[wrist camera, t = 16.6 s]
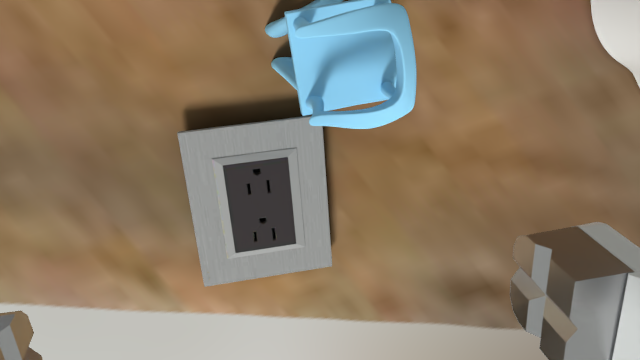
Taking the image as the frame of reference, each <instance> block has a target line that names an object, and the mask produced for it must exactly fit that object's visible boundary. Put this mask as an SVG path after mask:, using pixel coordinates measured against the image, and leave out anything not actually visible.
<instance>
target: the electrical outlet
mask: <svg viewBox="0 0 640 360" xmlns="http://www.w3.org/2000/svg"><path fill="white" fill-rule="evenodd" d="M310 118H311V116H303V117H295V118H287V119H279V120H271V121H263V122H254V123H246V124H238V125H230V126H222V127H213V128H205V129H197V130H189V131H181V132H178V133H177V134H178V139H179V145H180V151H181V156H182V162H183V168H184V173H185V179H186V185H187V190H188V196H189V202H190V207H191V213H192V219H193V224H194V230H195V236H196V241H197V247H198V253H199V258H200V264H201V270H202V275H203V281H204V287H205V286H212V285H218V284H224V283H230V282H236V281H243V280H249V279H255V278H261V277H268V276H274V275H280V274H286V273H292V272H299V271H305V270H311V269H317V268H323V267H330V266H332V256H331V241H330V227H329V212H328V198H327V183H326V168H325V154H324V139H323V126H312V125H310V124H309V120H310Z"/></svg>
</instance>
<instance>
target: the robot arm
mask: <svg viewBox="0 0 640 360" xmlns="http://www.w3.org/2000/svg"><path fill="white" fill-rule="evenodd" d="M591 11H592V18H593V23H594V27H595V30H596V33H597V35H598V38H599V40H600V42H601V43H602V45H603V46H604V48H605V49H606V51H607V52H608V53H609V54H610V55H611V56H612V57H613V58H614V59H615V60H617V61H618V62H620V63H621V64H622V65H624V66H625V67H627V68H628V69H629V70H630V71H631V72H632V73H633V74H634V77H635V79H636V81H637V83H638V85H639V87H640V0H591ZM513 259H514V260H515V261H516V263H517V264H518V265H519V267H520V268H519V269H518V270H517V272H516V273H515V274H514V276H513V277H512V278H511V284H510V298H511V303H512V308H513V311H514V314H515V316H516V318H517V320H518V322H519V323H520V324H521V326H522V327H523V328H524V330H525V331H526V332H528V333H531V334H533V335H535V336H537V337H539V338H541V341H540V350H541V351H542V352H543V353H544V355H545V356H546V357H547V358H548V360H640V248H639V247H637V246H636V245H635V244H633V243H632V242H631V241H629V240H628V239H626V238H625V237H624V236H622V235H621V234H620V233H618V232H617V231H615V230H614V229H613V228H611V227H610V226H609V225H607V224H605V223H601V222H594V223H589V224H584V225H578V226H573V227H569V228H563V229H558V230H552V231H546V232H541V233H535V234H529V235H524V236H518V237H517V239H516V242H515V244H514V250H513ZM33 333H34V332H33V329H32V327H31V324H30V321H29V319H28V316H27V315H26V314H25V313H23V312H22V311H15V312H7V313H0V360H42V357H41V355H40V354H38V353H37V352H35V351H34V350H32V349H31V348H29V347H28V346H29V344H30V341H31V339H32V336H33Z"/></svg>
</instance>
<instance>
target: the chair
mask: <svg viewBox="0 0 640 360" xmlns="http://www.w3.org/2000/svg"><path fill="white" fill-rule="evenodd" d="M342 1H343V0H315V1H313V2H312V3H310V4H308V5H306V6H304V7H303V8H301V9H297V10H292V11H286V12H284V14H285V17H283V18H281V19H279V20H276V21H274V22H271V23H269V24H268V25H267V26H266V27H265V31H266V33H267V34H268V35H269V36H271V37H274V38H276V37H281V36H284V35H286V34H288V37H289V43H290V49H291V54H292V57H279V58H275V59H274V60H273V61H272V64H271V65H272V68H273V69H275V70H276V71H277V72H278V73H279V74H280V75H281V76H283V77H284V78H285V79H286V80H287V81H288V82H289V83H290V84H291V85H292V86H293V87H294V88H295V89H296V90H297V92H298V98H299V104H300V110H301V113H302V115H303V116H305V115H310V114H312V116H311V118H310V120H309V124H310V125H312V126H333V127H342V128H352V129H369V128H375V127H379V126H382V125H385V124H388V123H390V122H393V121H395V120H397V119H399V118H401V117H402V116H404V115H406V114H407V113H409V112H410V111H411V110H412V109H413V107H414V104H415V96H416V59H415V51H414V44H413V38H412V33H411V28H410V23H409V19H408V15H407V12H406V10H405V8H404V7H403V6H401V5H399V4H395V3H391V0H350V1H345V2H342ZM395 58H396V59H395ZM387 99H389V100H387ZM382 100H387V101H386V102H384V103H382V104H380V105H377V106H375V107H371V108H367V109H361V110H353V111H330V110H334V109H339V108H344V107H349V106H354V105H359V104H365V103H371V102H377V101H382Z"/></svg>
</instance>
